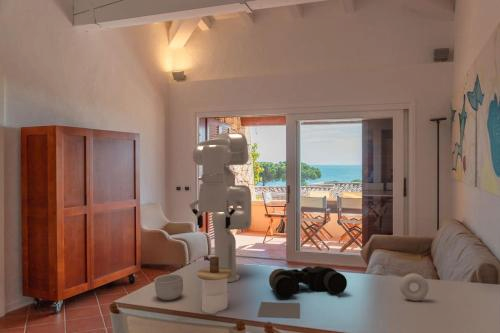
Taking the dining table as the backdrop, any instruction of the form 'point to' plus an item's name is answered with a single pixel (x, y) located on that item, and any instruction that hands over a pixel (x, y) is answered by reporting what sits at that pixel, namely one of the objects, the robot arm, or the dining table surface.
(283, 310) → the rubber mat
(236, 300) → the dining table surface
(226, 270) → the oak lid
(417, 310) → the dining table surface
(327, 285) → the binoculars
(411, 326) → the dining table surface
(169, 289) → the teacup
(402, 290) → the donut
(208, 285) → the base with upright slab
